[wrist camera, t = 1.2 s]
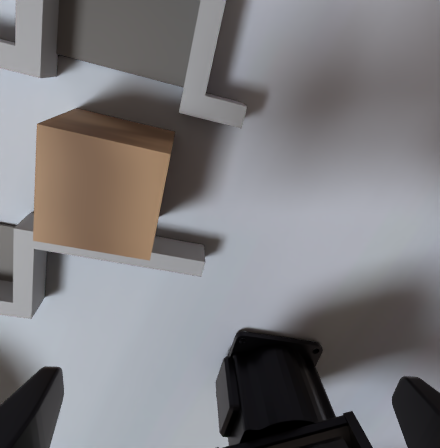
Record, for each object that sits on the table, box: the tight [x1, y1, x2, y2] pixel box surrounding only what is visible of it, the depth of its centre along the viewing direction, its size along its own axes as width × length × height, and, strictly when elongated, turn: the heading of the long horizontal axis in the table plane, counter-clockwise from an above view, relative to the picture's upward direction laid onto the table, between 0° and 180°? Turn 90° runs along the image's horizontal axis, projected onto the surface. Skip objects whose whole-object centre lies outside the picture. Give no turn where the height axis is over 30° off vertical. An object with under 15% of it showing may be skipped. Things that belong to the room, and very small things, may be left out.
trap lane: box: [0, 0, 247, 319], centre depth 17 cm, size 18×19×3 cm
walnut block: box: [33, 108, 175, 261], centre depth 16 cm, size 5×5×5 cm
